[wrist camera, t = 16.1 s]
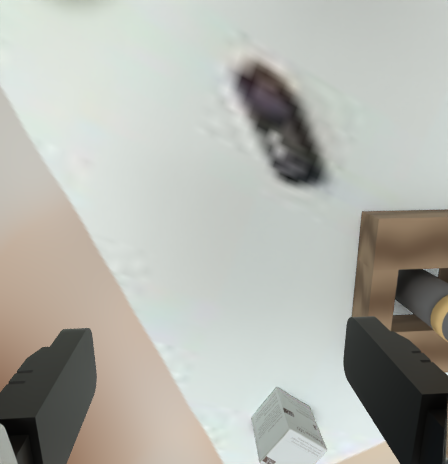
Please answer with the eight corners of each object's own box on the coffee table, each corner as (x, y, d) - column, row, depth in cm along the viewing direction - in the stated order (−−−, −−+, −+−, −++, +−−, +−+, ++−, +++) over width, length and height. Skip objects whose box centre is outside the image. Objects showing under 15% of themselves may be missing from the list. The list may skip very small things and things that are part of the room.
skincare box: (310, 405, 48) (329, 450, 41) (283, 436, 49) (298, 485, 42) (275, 385, 47) (290, 428, 40) (249, 417, 48) (258, 465, 41)
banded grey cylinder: (388, 264, 44) (449, 303, 33) (428, 262, 44) (501, 300, 34) (384, 302, 45) (442, 351, 35) (423, 300, 46) (491, 348, 35)
